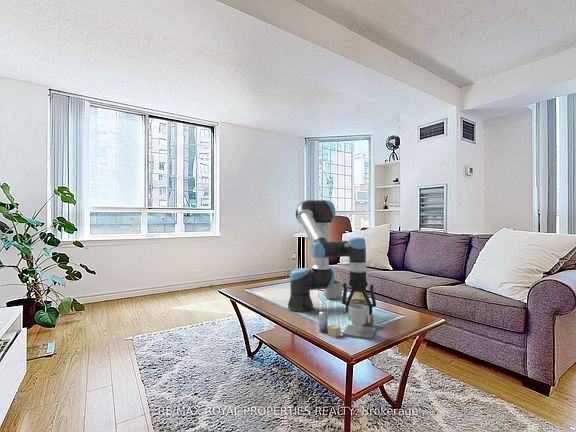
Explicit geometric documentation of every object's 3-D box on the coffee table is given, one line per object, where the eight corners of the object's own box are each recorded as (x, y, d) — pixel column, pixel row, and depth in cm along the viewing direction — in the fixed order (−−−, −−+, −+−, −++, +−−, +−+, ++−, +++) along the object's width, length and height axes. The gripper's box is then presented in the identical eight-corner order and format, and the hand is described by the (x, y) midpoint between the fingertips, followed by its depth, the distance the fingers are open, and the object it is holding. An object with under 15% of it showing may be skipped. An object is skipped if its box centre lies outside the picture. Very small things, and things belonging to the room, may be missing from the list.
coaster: (342, 335, 135) (342, 333, 135) (348, 326, 147) (348, 324, 147) (372, 339, 130) (372, 337, 130) (376, 329, 142) (375, 327, 142)
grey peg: (318, 332, 140) (317, 312, 140) (320, 329, 144) (320, 310, 144) (326, 333, 138) (326, 313, 139) (328, 330, 142) (328, 311, 142)
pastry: (357, 301, 193) (356, 289, 193) (372, 305, 183) (372, 292, 183) (341, 305, 185) (341, 292, 185) (357, 310, 175) (356, 296, 175)
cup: (345, 319, 144) (345, 302, 144) (362, 319, 144) (362, 302, 145) (352, 327, 133) (352, 309, 133) (370, 326, 134) (370, 308, 134)
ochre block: (328, 335, 136) (328, 326, 136) (333, 333, 139) (333, 324, 139) (335, 338, 133) (335, 328, 133) (340, 335, 136) (340, 326, 136)
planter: (329, 295, 211) (328, 279, 212) (345, 297, 204) (345, 281, 204) (320, 299, 201) (320, 282, 202) (337, 301, 194) (336, 284, 194)
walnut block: (361, 326, 146) (361, 316, 146) (363, 323, 151) (363, 313, 151) (372, 328, 144) (371, 317, 144) (373, 324, 149) (373, 314, 149)
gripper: (333, 271, 140) (335, 320, 139) (380, 273, 131) (382, 325, 131) (337, 269, 147) (339, 316, 146) (382, 270, 138) (383, 320, 138)
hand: (359, 320), depth 138 cm, fingers closed on cup, 8 cm apart
